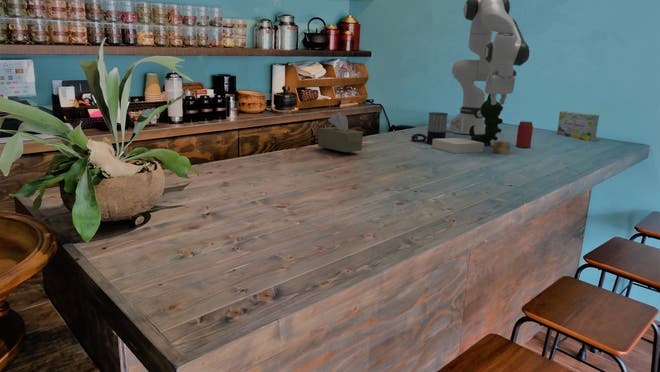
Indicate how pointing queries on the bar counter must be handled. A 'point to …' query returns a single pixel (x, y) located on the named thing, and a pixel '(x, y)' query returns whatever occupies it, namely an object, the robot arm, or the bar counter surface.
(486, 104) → the toy figurine
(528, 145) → the beer can
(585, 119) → the snack box
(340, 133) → the tissue box
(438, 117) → the milk frother
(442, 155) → the bar counter surface
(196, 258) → the bar counter surface
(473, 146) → the cream base
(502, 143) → the block
